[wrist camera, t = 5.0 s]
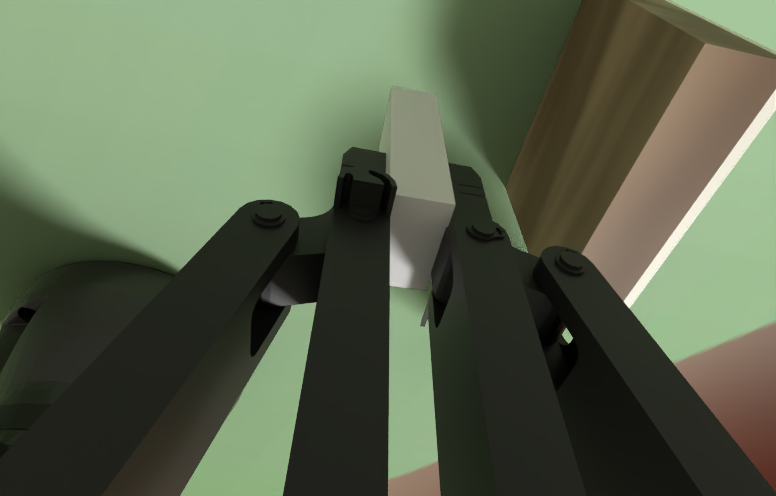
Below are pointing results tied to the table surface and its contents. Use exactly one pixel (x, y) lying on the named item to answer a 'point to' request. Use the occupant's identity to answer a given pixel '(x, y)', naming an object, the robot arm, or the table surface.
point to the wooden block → (637, 134)
